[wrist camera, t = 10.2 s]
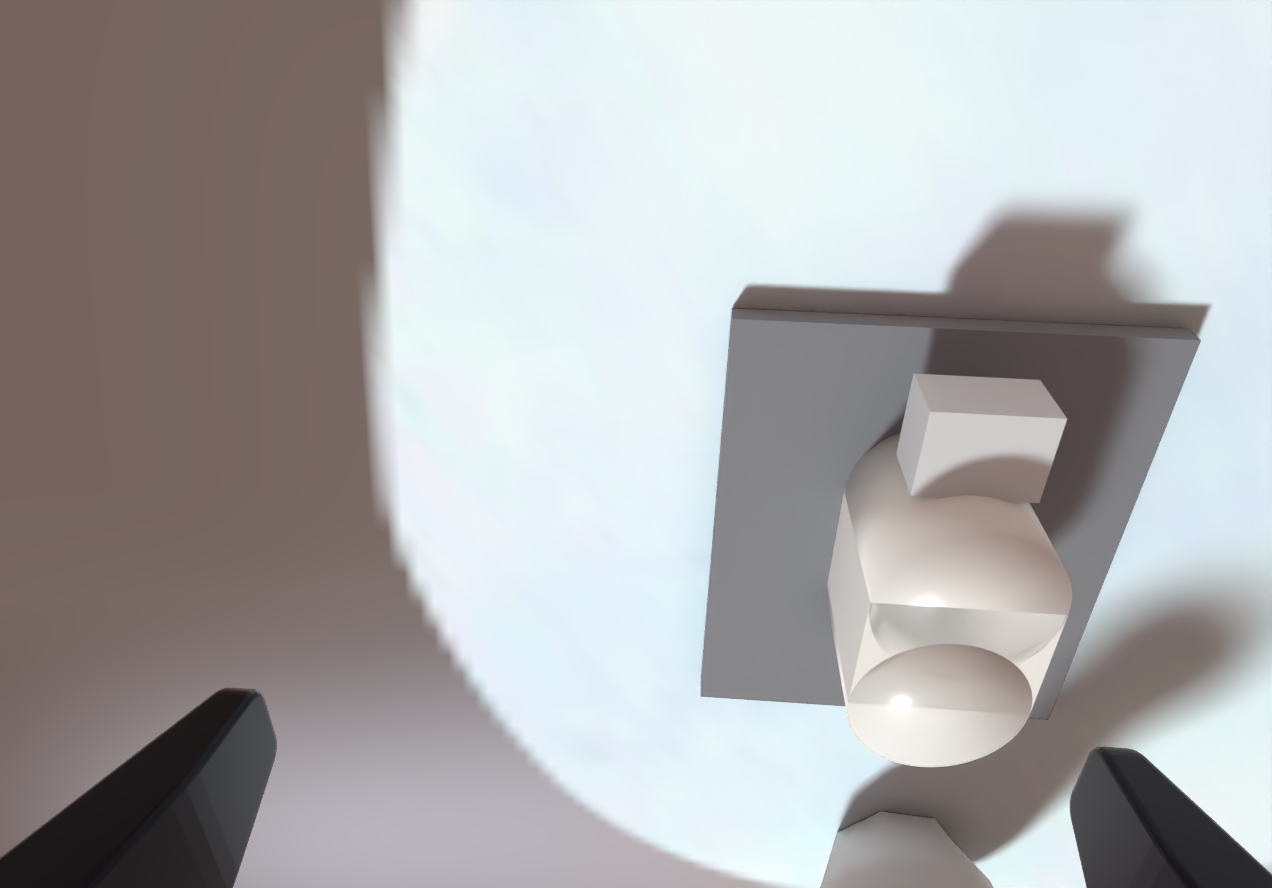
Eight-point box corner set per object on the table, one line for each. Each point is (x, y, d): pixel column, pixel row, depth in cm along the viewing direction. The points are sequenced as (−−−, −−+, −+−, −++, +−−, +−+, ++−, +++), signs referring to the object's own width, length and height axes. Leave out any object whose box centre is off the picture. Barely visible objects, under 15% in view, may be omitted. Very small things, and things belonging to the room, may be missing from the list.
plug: (964, 648, 24) (1007, 772, 20) (817, 639, 24) (835, 761, 20) (1055, 356, 19) (1130, 454, 16) (870, 346, 19) (905, 442, 16)
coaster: (1187, 328, 19) (1200, 340, 19) (1041, 703, 25) (1048, 719, 25) (732, 308, 20) (732, 318, 19) (700, 680, 26) (700, 696, 25)
